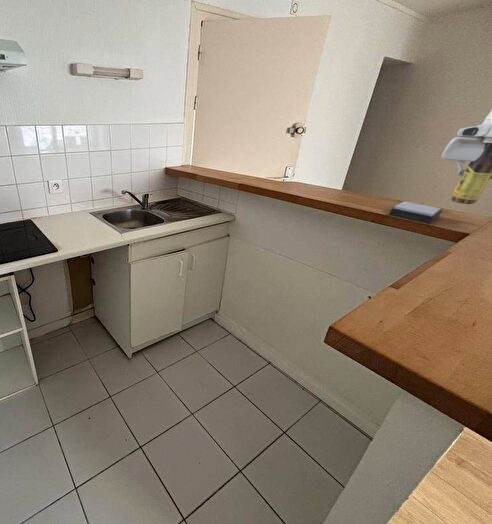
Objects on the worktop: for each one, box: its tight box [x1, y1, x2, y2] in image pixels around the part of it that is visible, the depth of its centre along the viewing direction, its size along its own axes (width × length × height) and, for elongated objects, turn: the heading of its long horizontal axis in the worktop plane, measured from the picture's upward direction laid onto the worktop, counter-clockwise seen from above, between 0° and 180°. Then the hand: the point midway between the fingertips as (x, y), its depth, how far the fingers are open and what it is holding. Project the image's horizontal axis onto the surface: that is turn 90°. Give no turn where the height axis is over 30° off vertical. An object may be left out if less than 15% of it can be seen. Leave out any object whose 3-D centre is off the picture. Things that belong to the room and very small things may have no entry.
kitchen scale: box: [389, 200, 443, 225], centre depth 97 cm, size 11×11×3 cm
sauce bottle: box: [450, 143, 492, 205], centre depth 91 cm, size 7×6×20 cm
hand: (475, 177), depth 92 cm, fingers closed on sauce bottle, 6 cm apart
